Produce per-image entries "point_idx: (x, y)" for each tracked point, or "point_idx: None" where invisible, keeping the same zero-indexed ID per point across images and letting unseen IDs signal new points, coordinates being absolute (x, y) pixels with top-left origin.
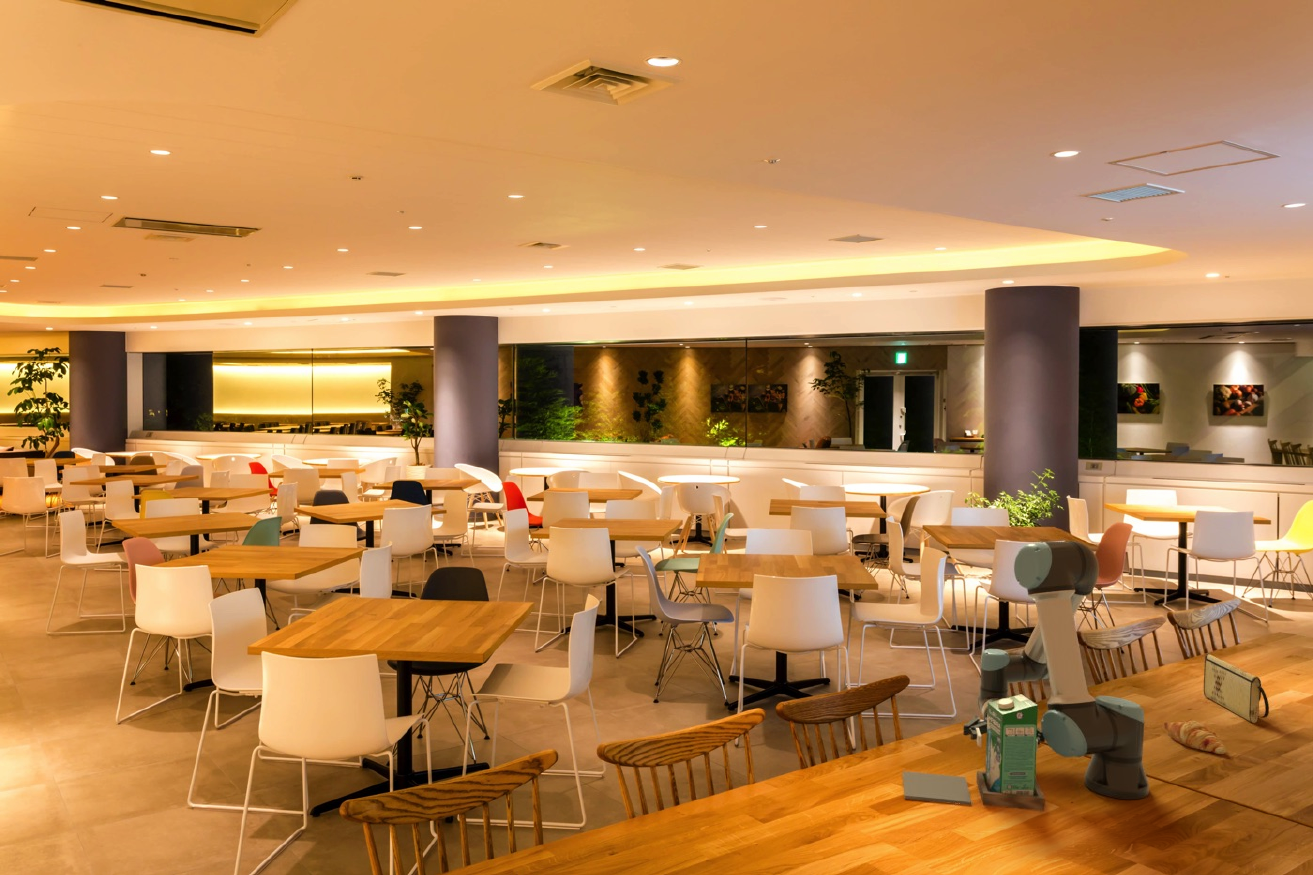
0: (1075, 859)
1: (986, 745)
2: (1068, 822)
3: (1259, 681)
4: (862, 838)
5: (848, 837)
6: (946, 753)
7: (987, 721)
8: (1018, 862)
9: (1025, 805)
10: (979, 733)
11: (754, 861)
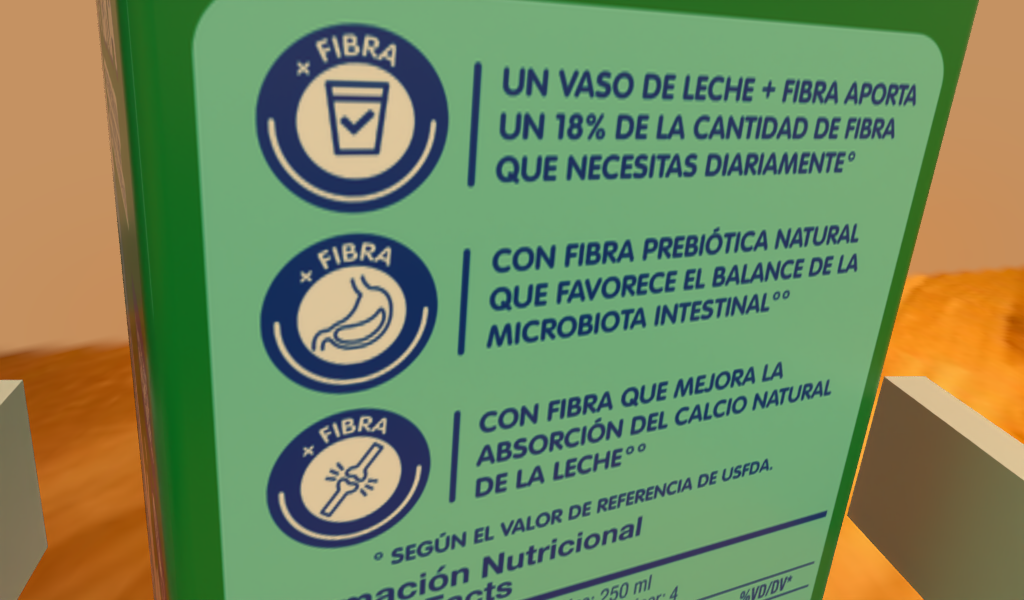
0: None
1: (817, 588)
2: (46, 583)
3: None
4: (918, 344)
5: (956, 342)
6: None
7: (912, 179)
8: None
9: None
10: (992, 443)
11: (1021, 272)
